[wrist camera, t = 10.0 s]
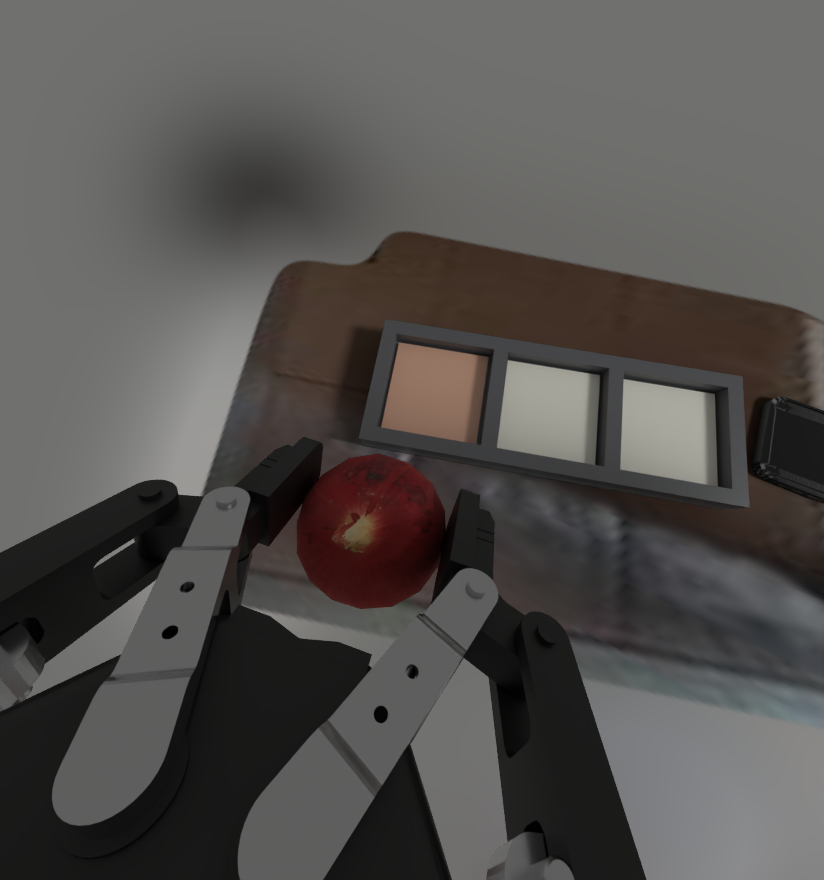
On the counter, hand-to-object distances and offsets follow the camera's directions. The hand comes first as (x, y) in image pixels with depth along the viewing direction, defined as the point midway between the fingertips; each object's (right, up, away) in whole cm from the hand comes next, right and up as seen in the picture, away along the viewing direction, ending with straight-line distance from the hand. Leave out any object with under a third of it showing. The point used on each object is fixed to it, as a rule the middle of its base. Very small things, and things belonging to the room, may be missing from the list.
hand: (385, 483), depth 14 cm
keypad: (+13, +4, +17) cm, 22 cm away
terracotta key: (+3, +6, +16) cm, 18 cm away
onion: (0, -3, +4) cm, 5 cm away
